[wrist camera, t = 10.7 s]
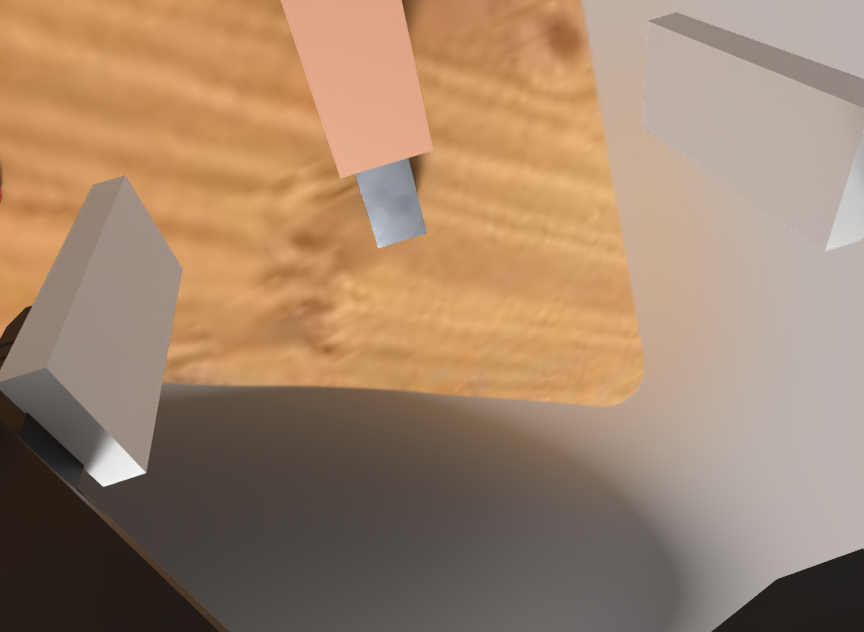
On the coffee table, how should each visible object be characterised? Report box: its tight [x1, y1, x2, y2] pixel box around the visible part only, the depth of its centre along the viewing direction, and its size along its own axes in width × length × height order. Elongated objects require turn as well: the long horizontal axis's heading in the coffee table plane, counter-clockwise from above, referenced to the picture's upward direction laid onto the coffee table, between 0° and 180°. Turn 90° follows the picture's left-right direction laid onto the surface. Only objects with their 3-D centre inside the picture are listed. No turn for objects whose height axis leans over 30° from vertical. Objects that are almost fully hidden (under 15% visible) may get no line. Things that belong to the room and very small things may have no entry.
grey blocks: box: [355, 158, 427, 248], centre depth 27 cm, size 24×3×4 cm, turn 12°
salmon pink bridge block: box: [281, 0, 433, 178], centre depth 25 cm, size 10×4×8 cm, turn 12°
